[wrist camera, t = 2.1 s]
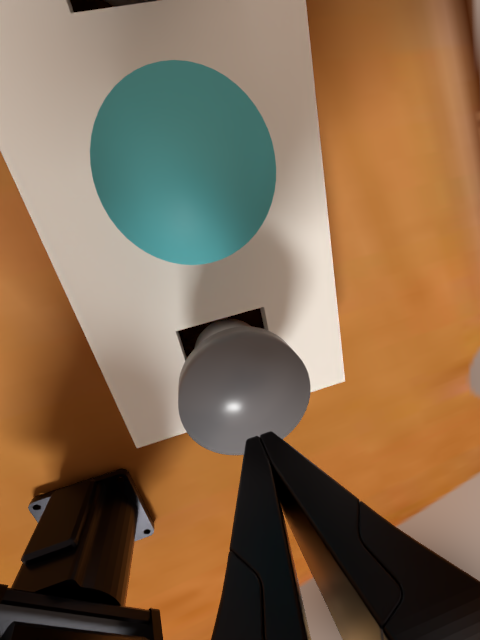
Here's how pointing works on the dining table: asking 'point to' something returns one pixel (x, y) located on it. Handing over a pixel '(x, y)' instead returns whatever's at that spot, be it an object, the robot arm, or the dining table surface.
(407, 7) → the dining table surface
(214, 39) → the knob mount
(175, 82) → the middle knob
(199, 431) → the knob
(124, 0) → the knob
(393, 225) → the dining table surface
